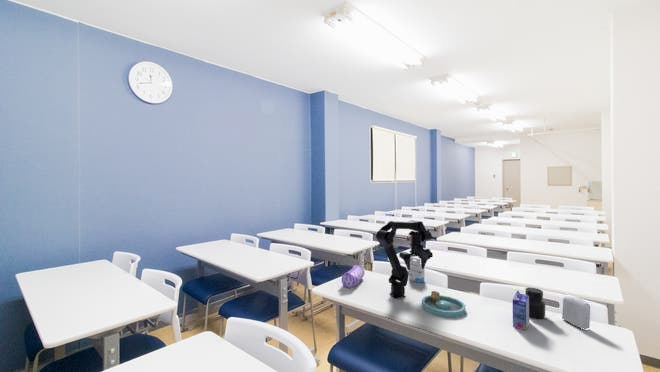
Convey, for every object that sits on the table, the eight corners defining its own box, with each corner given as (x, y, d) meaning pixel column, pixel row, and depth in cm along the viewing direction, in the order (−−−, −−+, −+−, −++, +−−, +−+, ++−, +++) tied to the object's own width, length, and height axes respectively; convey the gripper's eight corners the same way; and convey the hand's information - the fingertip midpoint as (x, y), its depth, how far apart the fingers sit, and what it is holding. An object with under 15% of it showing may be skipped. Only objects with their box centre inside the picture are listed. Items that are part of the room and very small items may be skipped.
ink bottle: (544, 313, 143) (545, 288, 142) (547, 321, 135) (548, 295, 134) (520, 309, 147) (521, 285, 147) (522, 316, 139) (522, 291, 139)
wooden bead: (434, 303, 152) (434, 294, 152) (429, 300, 155) (429, 291, 155) (441, 302, 153) (441, 293, 153) (436, 299, 157) (436, 290, 157)
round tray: (439, 319, 136) (439, 314, 136) (414, 302, 155) (414, 297, 155) (474, 313, 142) (474, 308, 142) (446, 297, 161) (446, 293, 161)
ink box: (424, 281, 186) (425, 258, 185) (420, 283, 183) (420, 259, 182) (413, 278, 192) (413, 255, 192) (408, 279, 189) (408, 256, 189)
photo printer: (591, 330, 127) (592, 301, 127) (583, 330, 127) (584, 302, 126) (568, 318, 138) (568, 292, 137) (560, 319, 137) (561, 292, 136)
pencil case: (351, 276, 195) (351, 262, 195) (365, 278, 192) (365, 263, 191) (340, 288, 174) (340, 272, 174) (355, 290, 171) (356, 274, 171)
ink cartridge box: (514, 318, 138) (515, 287, 137) (529, 322, 134) (530, 290, 134) (511, 326, 130) (512, 293, 129) (526, 330, 126) (527, 297, 126)
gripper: (409, 246, 160) (409, 275, 160) (439, 244, 166) (438, 272, 166) (398, 242, 171) (398, 269, 171) (426, 240, 176) (426, 266, 177)
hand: (415, 269), depth 171 cm, fingers open, 9 cm apart
